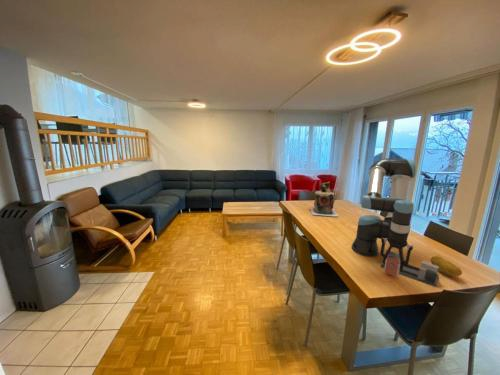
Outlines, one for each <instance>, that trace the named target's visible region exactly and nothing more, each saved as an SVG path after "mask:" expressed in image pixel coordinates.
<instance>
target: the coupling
mask: <svg viewBox="0 0 500 375" xmlns="http://www.w3.org/2000/svg"><path fill="white" fill-rule="evenodd" d="M399 261H400V259H399V260H396V259H393V258H390V257H389V258H388V260H387V263H386V269H385V270H384V273H385V274H387V275H391V276H393V277H397V275H396V274H397V269H398V264H399Z"/></svg>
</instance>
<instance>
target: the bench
mask: <svg viewBox="0 0 500 375" xmlns="http://www.w3.org/2000/svg"><path fill="white" fill-rule="evenodd" d="M387 250H388V249H386V250H385V253H386V252H387ZM387 257H388V258H389V257H390V258H393V259H396V260H399V261H400V256H399V252H394V251H392V250H391V251H390V252H389V254H388V256H387ZM379 266H380V268H383V269H384V267H385V264H383V261H382V262H381V264H380V265H379ZM438 270H439V267H438V266H436V265H433V264H432V263H431V262H427V261H425V260H422V262H421V264H420V267H417V266H414V265H411V264H409V263H408V265H406V264H404V265H403V269H402V270H400V271H399V274H400V275H402V276H405V277H408V278H411V279H413V280H416V281H419V282H422V283H424V284H427V285H430V286H432V287H435V288H438V282H439V274H438V273H439V271H438ZM399 274H398V275H399Z"/></svg>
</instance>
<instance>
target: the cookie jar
mask: <svg viewBox="0 0 500 375" xmlns="http://www.w3.org/2000/svg"><path fill="white" fill-rule="evenodd" d="M330 187H331V186H330V181H328V182H322V183H321V184H320V185H319V189H320V190H316V191H315V192H314V195H315V198H314V202H313V206H314V207H311V206H310V207H309V210H310V213H311V215H312V216H322V217H333V218H334V217H335V218H337V217H339V214H338V213H337V212H336V211H335V209H334V205H335V202H336V197H335V193H334V192H332V191H331V190H330Z"/></svg>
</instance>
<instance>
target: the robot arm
mask: <svg viewBox="0 0 500 375" xmlns="http://www.w3.org/2000/svg"><path fill="white" fill-rule="evenodd" d="M416 169H417V166H416V162H415V160H413V159H407V158H387V157H386V158H381V159H379V160H376V161H375V162H374V163H373V164H372V165H371V166H370V168H369V171H368V175H369V179H368V186H367V191H366V194H365V195H364V194H363V195H362V196H361V197H362V198H361V203H360V206H361V208H362V209H367V210H371V211H378V212H383V213H385V212H386V213H387V215H386V216H385V217H384V218H383V220H382V219H381V217H380V216H378V215H372V214H364V215H361V216H359V218H358V222H357V230H356V236H355V238H354V240H353V242H352V243H351V249H352V251H354V252H355V253H357V254H359V255H362V256H366V257H377V256H378V255H379V256H380V257H382V262H383V264H385V267H384V268H383V271H385V269H386V263H387V260H388V257H387V256H388V254H389V252H390V251H391V252H392V249H393V248H394V249H397V250H398V253H399V256H400V259H399V264H398V269H397V274H396V276H399V271H400V270H402V269H403V265H404V264H406V265H408V264H409V263H410V257H411V252H412V250H413V249H414V246H413V245H411V244H410V243H409V244H408V237H409V235H410V231H411V220H412V216H413V213H414V202H412V201H410V200H408V199H407V198H408V190H409V189H408V188H409V182H411V181H412V179H413V178H415V176H416V172H417V170H416ZM386 176H387V177H389V180H390V181H391V184H390V185H391V187H390V194H389V198H388V197H384V196H382V195H383V187H384V186H383V185H384V177H386ZM378 239H380V240H381V246H380V252H379V247H378V241H377V240H378ZM387 242H388V244H389V247H388V249H386V248H385V246H386V243H387ZM405 247H406V249H407V252H406V256H405V258H404V251H403V250H404V248H405ZM385 249H386V250H387V252H386V251H385Z"/></svg>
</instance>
